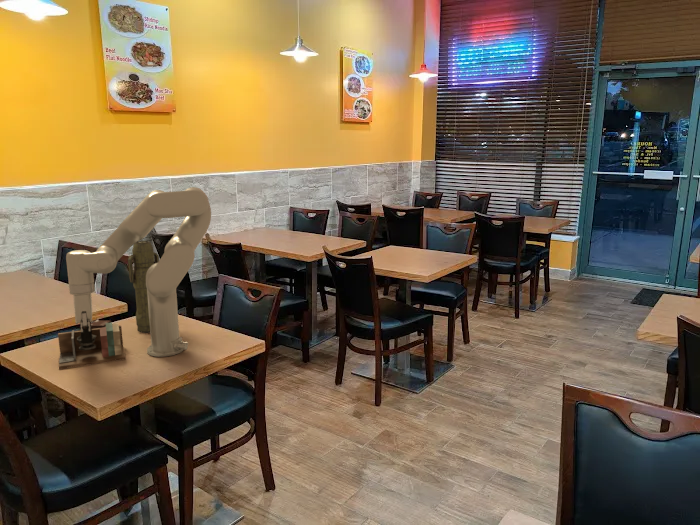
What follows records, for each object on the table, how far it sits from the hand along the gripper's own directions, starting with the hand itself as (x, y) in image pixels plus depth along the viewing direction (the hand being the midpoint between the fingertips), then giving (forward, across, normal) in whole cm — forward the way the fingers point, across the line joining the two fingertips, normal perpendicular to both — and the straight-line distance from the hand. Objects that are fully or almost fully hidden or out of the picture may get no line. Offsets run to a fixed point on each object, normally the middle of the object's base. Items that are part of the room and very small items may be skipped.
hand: (86, 339), depth 182 cm
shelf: (+7, -2, +1) cm, 8 cm away
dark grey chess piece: (+3, 0, 0) cm, 3 cm away
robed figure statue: (+7, -24, +22) cm, 33 cm away
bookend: (+6, -2, -6) cm, 9 cm away
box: (+8, -17, +4) cm, 19 cm away
